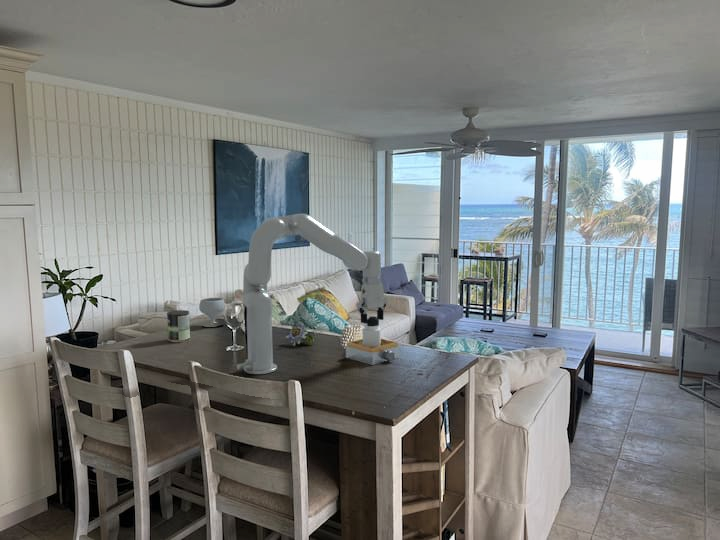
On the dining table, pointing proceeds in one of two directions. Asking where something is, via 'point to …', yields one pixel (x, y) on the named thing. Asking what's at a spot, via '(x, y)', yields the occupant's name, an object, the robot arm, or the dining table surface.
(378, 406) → the dining table surface
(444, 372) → the dining table surface
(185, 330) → the coffee can
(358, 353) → the box
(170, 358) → the dining table surface
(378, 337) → the medicine bottle
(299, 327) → the passion flower
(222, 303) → the chalice
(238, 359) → the dining table surface
